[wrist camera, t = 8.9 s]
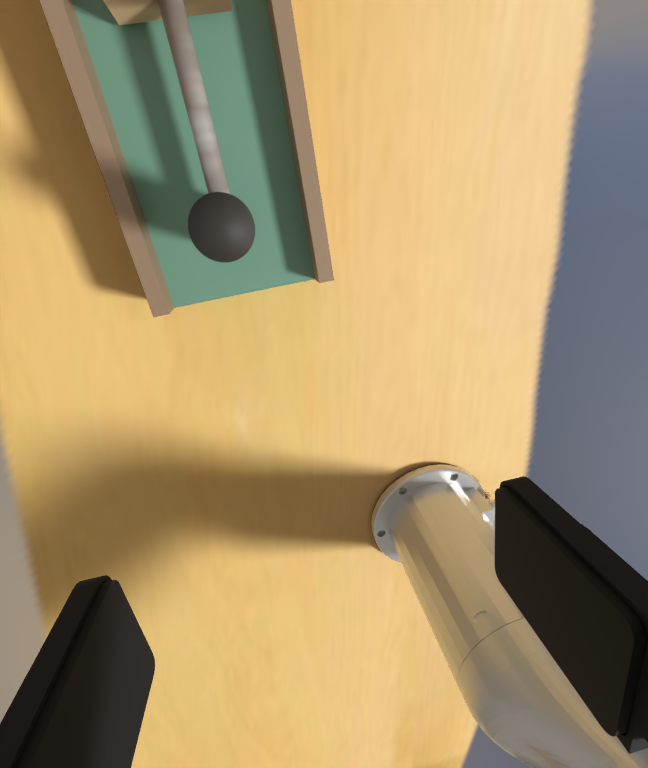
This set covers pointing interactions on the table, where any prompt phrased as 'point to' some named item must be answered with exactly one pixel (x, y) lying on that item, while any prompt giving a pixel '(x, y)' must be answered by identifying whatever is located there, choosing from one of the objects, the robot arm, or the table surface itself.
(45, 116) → the table surface
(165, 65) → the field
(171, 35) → the striker
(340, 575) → the table surface
